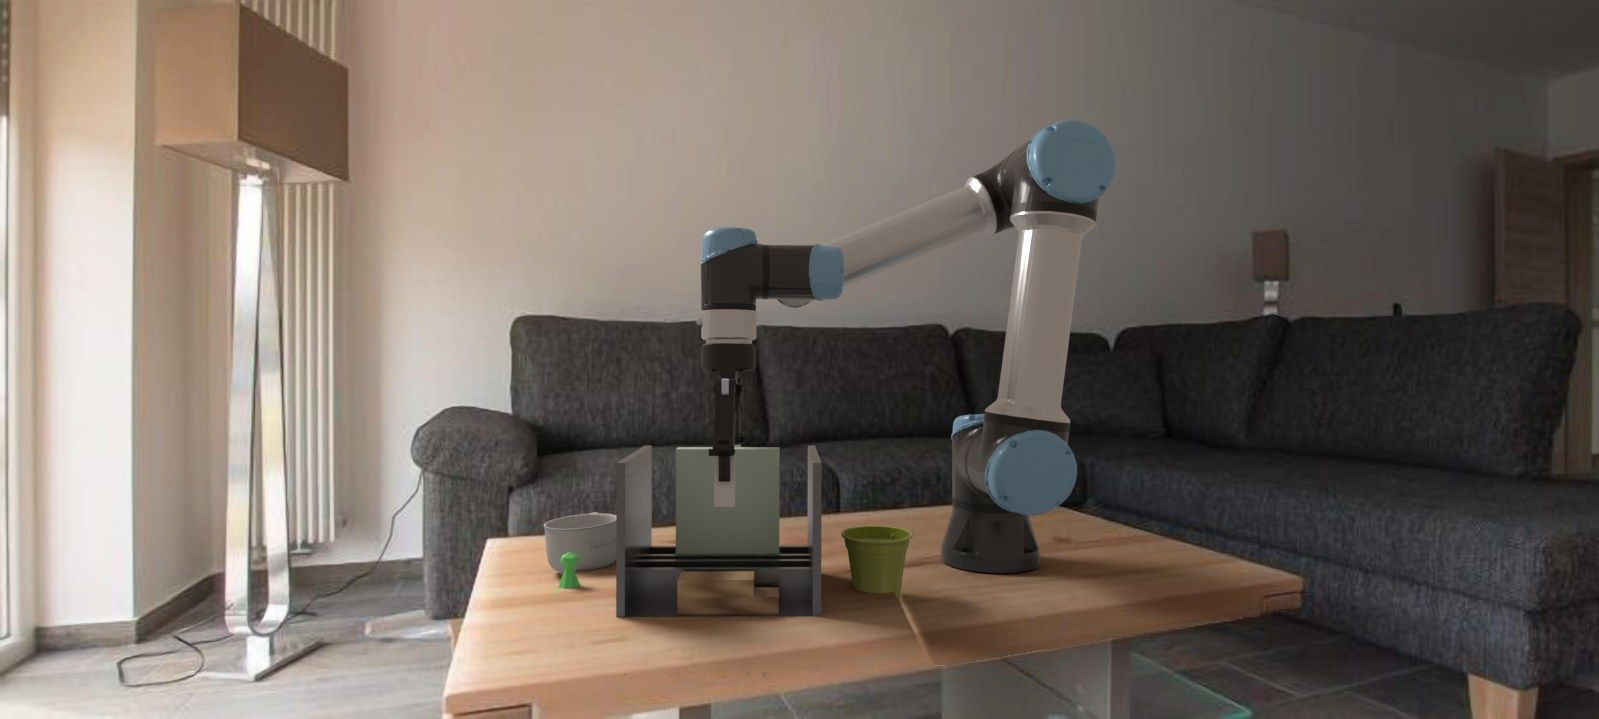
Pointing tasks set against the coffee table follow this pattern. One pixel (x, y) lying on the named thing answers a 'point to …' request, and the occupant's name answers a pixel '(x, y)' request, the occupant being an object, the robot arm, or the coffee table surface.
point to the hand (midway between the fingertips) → (728, 497)
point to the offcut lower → (732, 603)
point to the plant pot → (877, 557)
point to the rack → (656, 569)
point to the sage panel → (728, 527)
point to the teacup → (582, 540)
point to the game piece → (569, 572)
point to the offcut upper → (716, 584)
